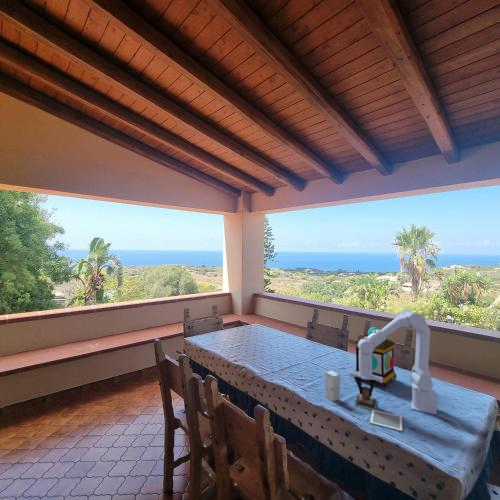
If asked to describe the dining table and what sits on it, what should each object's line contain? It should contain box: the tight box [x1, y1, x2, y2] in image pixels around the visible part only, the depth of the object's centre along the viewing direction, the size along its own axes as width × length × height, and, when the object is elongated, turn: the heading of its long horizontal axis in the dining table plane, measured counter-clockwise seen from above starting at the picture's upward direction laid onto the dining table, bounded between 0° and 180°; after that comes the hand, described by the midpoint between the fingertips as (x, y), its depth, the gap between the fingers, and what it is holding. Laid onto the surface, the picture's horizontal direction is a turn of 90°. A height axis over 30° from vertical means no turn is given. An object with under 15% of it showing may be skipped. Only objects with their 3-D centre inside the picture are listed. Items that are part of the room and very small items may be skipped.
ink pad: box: [354, 395, 378, 411], centre depth 132 cm, size 9×9×1 cm
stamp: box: [358, 385, 374, 405], centre depth 132 cm, size 6×6×6 cm
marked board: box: [369, 409, 404, 433], centre depth 118 cm, size 12×12×1 cm
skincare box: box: [324, 370, 341, 402], centre depth 138 cm, size 6×4×12 cm
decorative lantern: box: [353, 326, 397, 390], centre depth 159 cm, size 20×20×30 cm
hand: (365, 394), depth 132 cm, fingers closed on stamp, 4 cm apart
